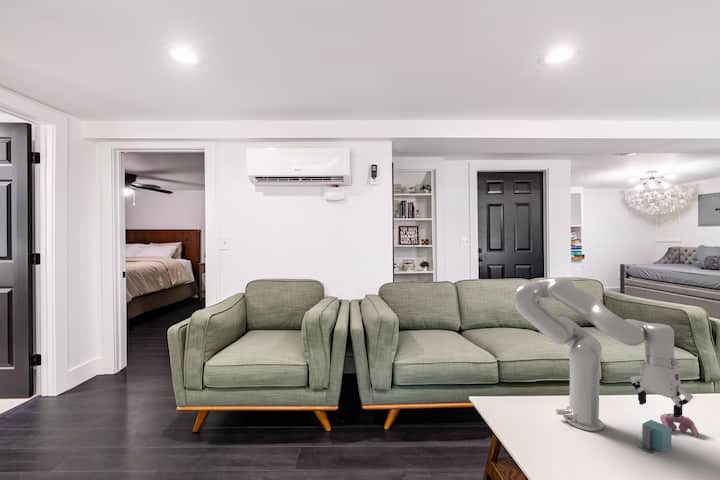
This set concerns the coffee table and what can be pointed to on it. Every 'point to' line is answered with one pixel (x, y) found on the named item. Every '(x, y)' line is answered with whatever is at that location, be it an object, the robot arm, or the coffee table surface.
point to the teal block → (659, 435)
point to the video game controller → (684, 422)
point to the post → (647, 441)
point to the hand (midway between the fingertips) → (659, 409)
